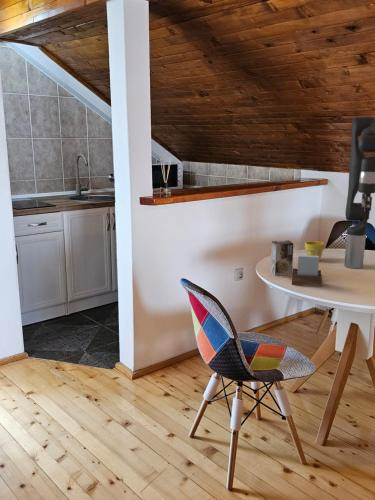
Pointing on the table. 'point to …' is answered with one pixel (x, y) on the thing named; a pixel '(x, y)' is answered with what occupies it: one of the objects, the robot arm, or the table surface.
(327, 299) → the table surface
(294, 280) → the rack
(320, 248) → the plant pot
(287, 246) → the coffee box
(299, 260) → the light grey upright block
